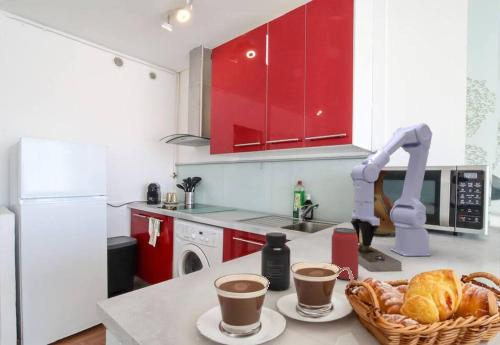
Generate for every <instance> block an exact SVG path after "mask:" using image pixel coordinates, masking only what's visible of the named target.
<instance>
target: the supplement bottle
mask: <svg viewBox="0 0 500 345" xmlns="http://www.w3.org/2000/svg"><path fill="white" fill-rule="evenodd" d="M287 241H288V240H287V234H286V233H283V232H277V231H276V232H267V233H266V234H265V244H264V245H263V246H262V248H261V253H260V254H261V255H260V256H261V257H260V258H261V263H260V264H261V266H260V267H261V269H260V271H261V272H260V275H262V276H264V277H266V278H267V279H268V280H269V282H270V284H269V287H268V289H267V290H270V291H273V292H274V291H277V292H278V291H279V292H280V291H284V290H287V289H289V288H290V286H291V248H290V247H289V246H288V244H287Z"/></svg>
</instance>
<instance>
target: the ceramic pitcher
mask: <svg viewBox="0 0 500 345" xmlns="http://www.w3.org/2000/svg"><path fill="white" fill-rule="evenodd" d="M389 174H390V171H388V170H385V169H381V170H380V172H379V176H378V179H377V180H375V181H374V216H375V217H376V218H378V219H380V225H378V228H377V230H376V231H375V233H374V234H377V235H378V234H379V235H385V236H386V235H388V234H390V233H394V232H395V233H396V226H395V225H394V223H393V222H392V221H391V219H390V212H391V209H392V208H393V206H394V202H393V201H392V200H391V199H390V198H389V196H387V195H386V194H385V192H384V189H383V188H384V187H383V185H384V180H385V177H386V176H387V175H389ZM353 213H355V209H354V210H353ZM351 219H352V220H351V221H355V220H356V219H353V218H351Z"/></svg>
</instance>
